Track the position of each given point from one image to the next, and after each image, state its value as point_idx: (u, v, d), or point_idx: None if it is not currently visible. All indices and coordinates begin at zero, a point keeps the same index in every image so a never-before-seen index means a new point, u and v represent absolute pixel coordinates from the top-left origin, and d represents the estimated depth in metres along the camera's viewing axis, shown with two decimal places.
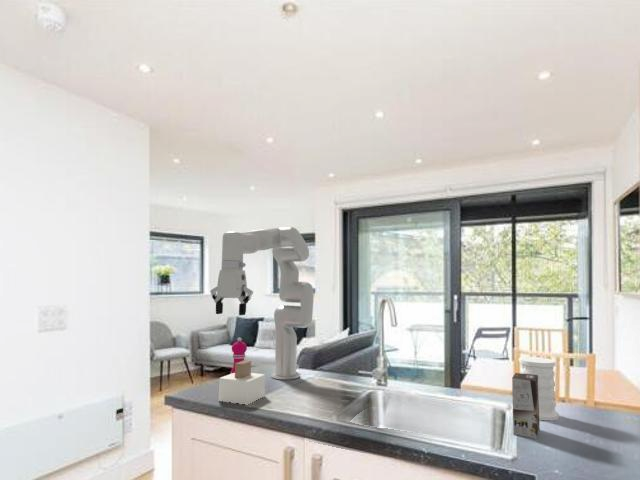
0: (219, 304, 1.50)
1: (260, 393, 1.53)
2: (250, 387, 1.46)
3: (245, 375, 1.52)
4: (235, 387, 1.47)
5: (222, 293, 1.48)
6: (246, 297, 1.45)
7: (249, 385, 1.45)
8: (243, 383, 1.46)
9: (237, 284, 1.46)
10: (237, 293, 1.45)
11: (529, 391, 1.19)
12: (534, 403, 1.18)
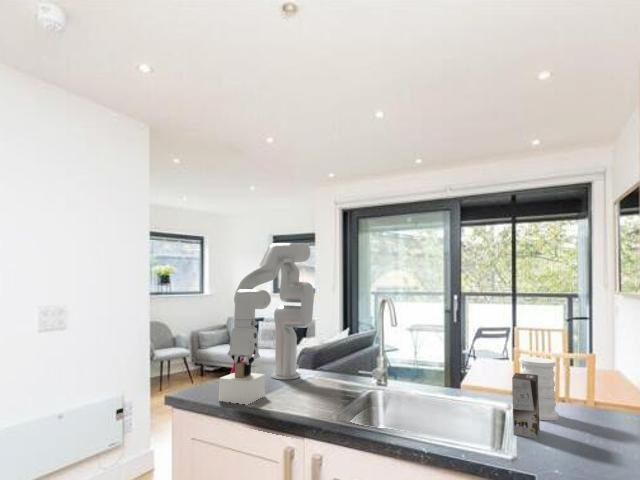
0: None
1: (260, 393, 1.53)
2: (250, 387, 1.46)
3: None
4: (235, 387, 1.47)
5: (235, 351, 1.52)
6: (251, 358, 1.51)
7: (248, 385, 1.45)
8: (243, 383, 1.46)
9: (249, 343, 1.50)
10: (249, 351, 1.50)
11: (529, 391, 1.19)
12: (534, 403, 1.18)
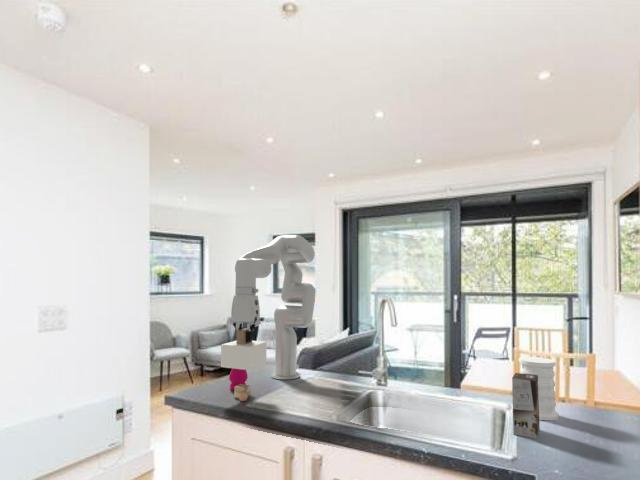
0: None
1: (262, 359, 1.54)
2: (252, 353, 1.48)
3: None
4: (236, 353, 1.48)
5: (236, 318, 1.54)
6: (252, 325, 1.52)
7: (250, 350, 1.47)
8: (245, 349, 1.47)
9: (251, 309, 1.52)
10: (251, 318, 1.52)
11: (529, 391, 1.19)
12: (534, 403, 1.18)
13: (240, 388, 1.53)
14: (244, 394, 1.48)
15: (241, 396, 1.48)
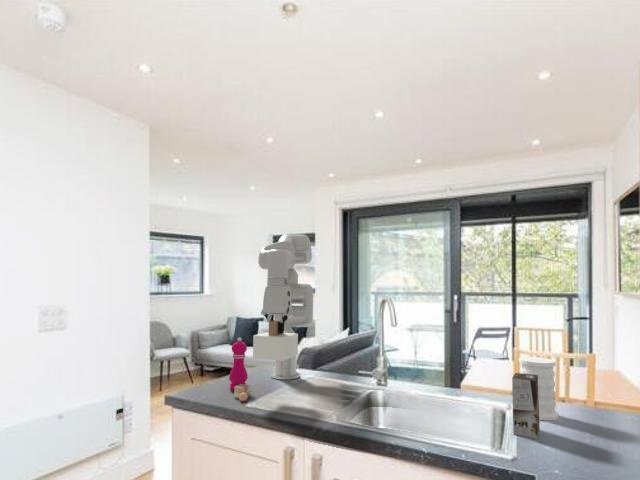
0: None
1: (293, 351, 1.53)
2: (284, 344, 1.47)
3: None
4: (269, 344, 1.47)
5: (268, 309, 1.53)
6: (285, 316, 1.51)
7: (283, 341, 1.46)
8: (278, 339, 1.46)
9: (283, 300, 1.51)
10: (283, 309, 1.51)
11: (529, 391, 1.19)
12: (534, 403, 1.18)
13: (240, 388, 1.53)
14: (244, 394, 1.48)
15: (241, 396, 1.48)
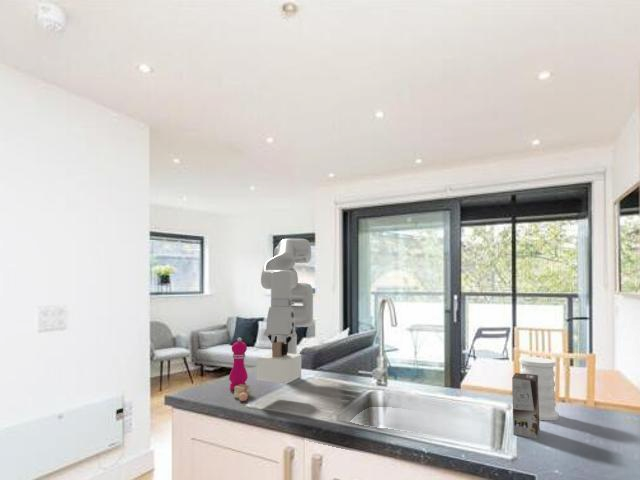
0: None
1: (297, 372, 1.52)
2: (289, 366, 1.46)
3: None
4: (273, 366, 1.46)
5: (272, 330, 1.52)
6: (288, 338, 1.50)
7: (287, 363, 1.45)
8: (282, 362, 1.45)
9: (287, 322, 1.50)
10: (287, 331, 1.50)
11: (529, 391, 1.19)
12: (534, 403, 1.18)
13: (240, 388, 1.53)
14: (244, 394, 1.48)
15: (241, 396, 1.48)
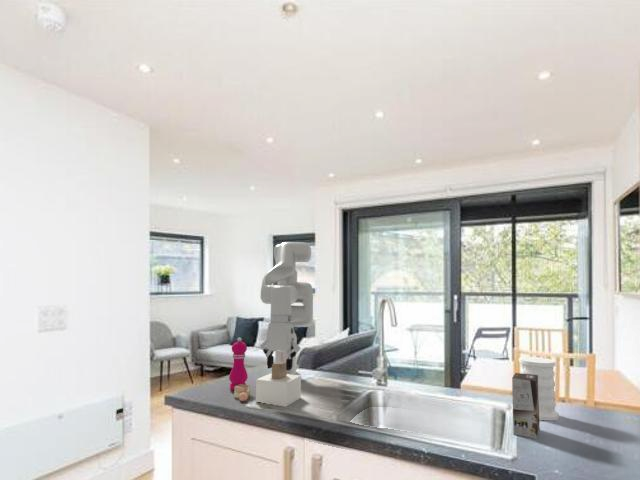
0: (270, 358, 1.53)
1: (297, 394, 1.51)
2: (288, 388, 1.45)
3: (282, 376, 1.51)
4: (272, 389, 1.46)
5: (271, 346, 1.51)
6: (293, 353, 1.49)
7: (287, 386, 1.44)
8: (281, 384, 1.45)
9: (287, 338, 1.49)
10: (287, 347, 1.49)
11: (529, 391, 1.19)
12: (534, 403, 1.18)
13: (240, 388, 1.53)
14: (244, 394, 1.48)
15: (241, 396, 1.48)
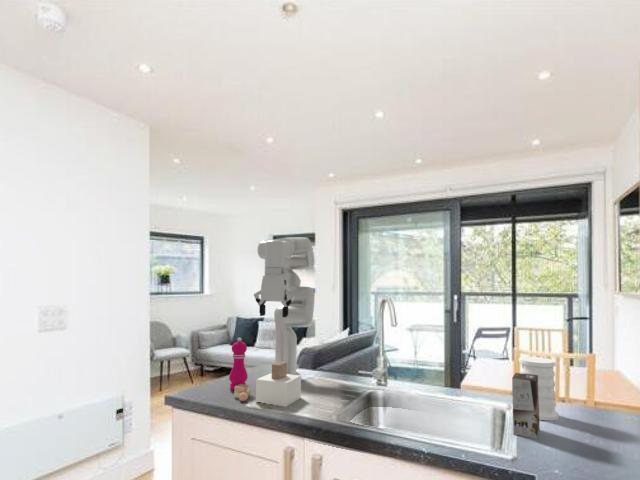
0: (262, 307, 1.63)
1: (297, 394, 1.51)
2: (288, 388, 1.45)
3: (282, 376, 1.51)
4: (272, 389, 1.46)
5: (266, 297, 1.61)
6: (289, 301, 1.58)
7: (287, 386, 1.44)
8: (281, 384, 1.45)
9: (280, 289, 1.59)
10: (280, 297, 1.59)
11: (529, 391, 1.19)
12: (534, 403, 1.18)
13: (240, 388, 1.53)
14: (244, 394, 1.48)
15: (241, 396, 1.48)
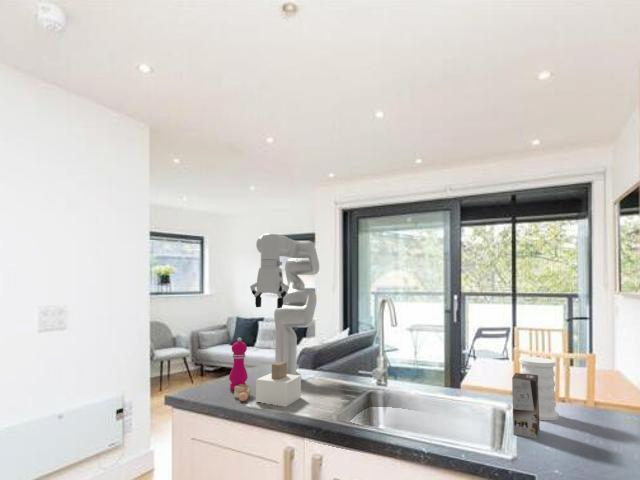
0: (258, 298, 1.67)
1: (297, 394, 1.51)
2: (288, 388, 1.45)
3: (282, 376, 1.51)
4: (272, 389, 1.46)
5: (261, 288, 1.65)
6: (283, 292, 1.63)
7: (287, 386, 1.44)
8: (281, 384, 1.45)
9: (275, 280, 1.63)
10: (275, 288, 1.63)
11: (529, 391, 1.19)
12: (534, 403, 1.18)
13: (240, 388, 1.53)
14: (244, 394, 1.48)
15: (241, 396, 1.48)
